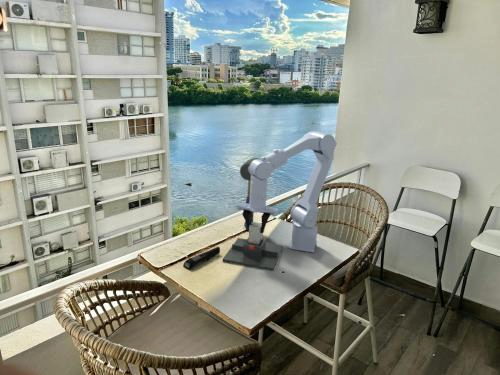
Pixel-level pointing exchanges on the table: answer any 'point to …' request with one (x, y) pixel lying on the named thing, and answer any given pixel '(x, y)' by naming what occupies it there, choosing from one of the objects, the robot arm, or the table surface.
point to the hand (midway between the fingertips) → (255, 231)
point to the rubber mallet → (247, 176)
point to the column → (255, 234)
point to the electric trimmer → (201, 258)
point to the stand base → (254, 254)
